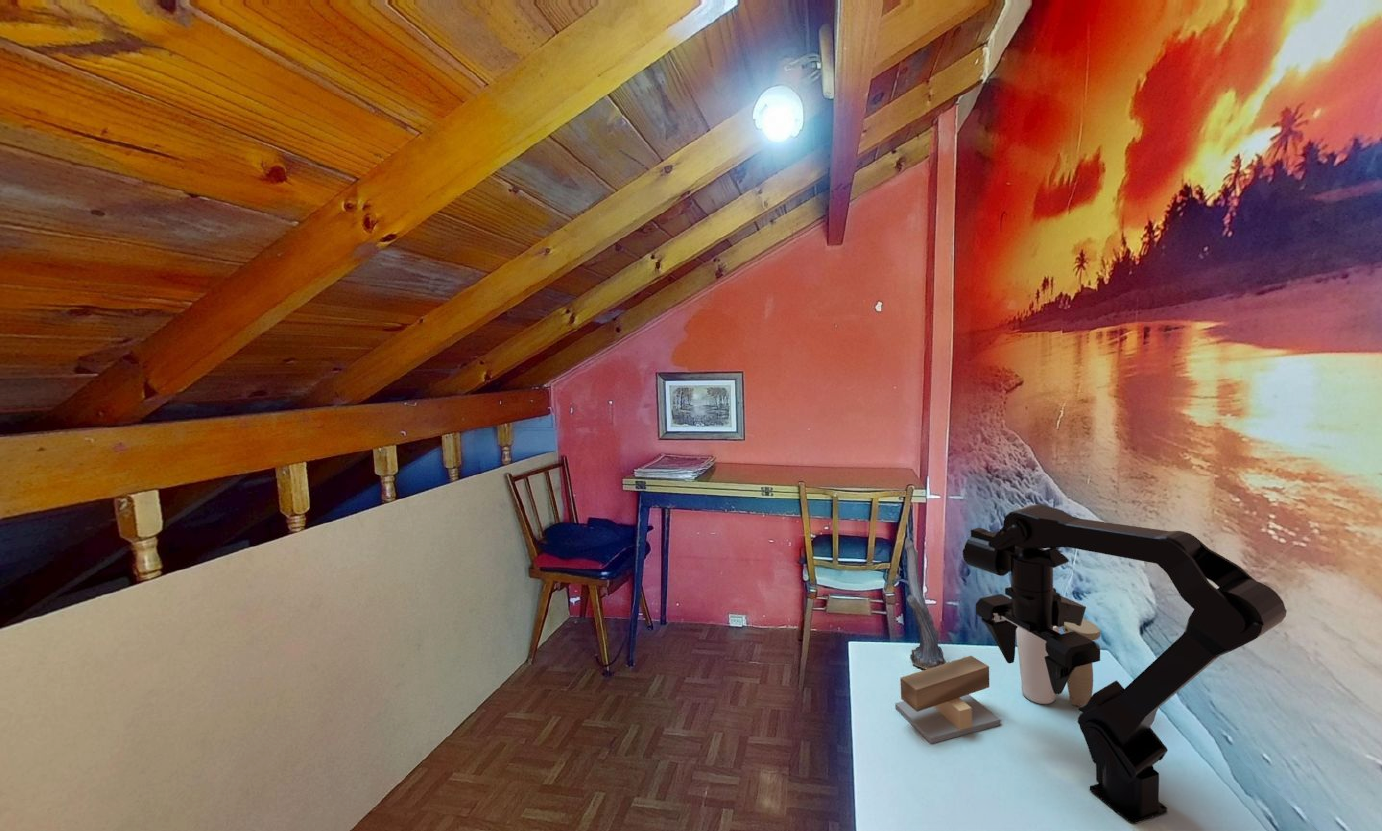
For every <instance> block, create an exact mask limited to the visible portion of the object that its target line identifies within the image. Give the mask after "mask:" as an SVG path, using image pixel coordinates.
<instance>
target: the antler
mask: <svg viewBox="0 0 1382 831" xmlns="http://www.w3.org/2000/svg"><path fill="white" fill-rule="evenodd" d="M904 541H905V543H904V548H905V551H906V559H907V561H906V562H907V567H906V569H907V584H908V590H909V594H908V595H907V597H906V602H907V603H908V605H909V607H910V608H911V609H912V610H913V613H914V615H915V618H916V621H917V624H918V629H919V636H920V639H919V645H918V646H916V647H915V649H911V654H910V655H909V656H910V661H911V663H912V665H914V666H916V667H919V668H921V669H924V670H927V669H930V668H933V667H936V666H939V665H943V664H946V663H947V662H946V659H945V658H944V652H943V648H942V647H941V646H939V637H938V632H937V630H936V628H935V624H934V620H933V617H932V614H930V611H929V610H930V609H929V608H928V606H927V603H926V599H925V596H924V595H923V591H922V587H921V581H920V576H919V566H918V564H919V562H918V557H919V556H918V555H919V551H918V549H915V547H914V543H913V541H912V539H911V538H910V536H907V537H906V538H905V540H904Z"/></svg>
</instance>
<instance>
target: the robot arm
mask: <svg viewBox="0 0 1382 831" xmlns="http://www.w3.org/2000/svg"><path fill="white" fill-rule="evenodd" d="M1002 524H1003V526H1002V527H1001V529H1000V530H998V531H997V532H992V531H989V530H987V529H985V528H981V527H977V528H976V527H975V528H972V529H971V530H970V536H969V537H968V539H966V542H965V544H964V547H963V550H962V558H963V560H964V563H965V564H966V565H967V566H970V567H973V568H975V569H976V568H977V569H979V570H982V571H985V572H988V573H991V574H994V575H997V576H1001V577H1002V576H1005V575H1007V574H1008V573H1009V572H1010V584H1011V585H1010V587H1005V588H1004V594H1005V595H1004V594H1003V593H999V594H994V595H989V596H985V597H980V598H979V599H978V600H977V602H976V603H975V614H976V615H977V616H978V617H980V618H981V623H983V624H984V625H985V626H986V628H987V630H988V631H989V633H990V635H991V636H992V638H993V639H994V641H995V643H996V645H997V647H998V649H999V650H1000V652H1001V655H1002V656H1003V657H1004V660H1005V661H1006V663H1008V664H1009V665H1011V664H1013V663H1014V662H1015V656H1016V639H1017V636H1016V629H1017V627H1020V628H1021V629H1023V630H1025V631H1027V632H1031V633H1033V634H1034V635H1036V636H1038V637H1040V638H1041V639H1043V640H1045V641H1047V642H1046V644H1045V648H1046V652H1047V654H1048V655H1049V656H1045V662H1046V666H1047V670H1048V674H1049V678H1050V682H1051V686H1052V689H1053V692H1054V693H1055V694H1056V696H1057V695H1060V694H1062V693H1063V691H1064V689H1065V687H1066V685H1067V681H1068V679H1069V677H1070V675H1071V674H1072V672H1073V670H1074V669H1075V668H1076V667H1078V666H1082V665H1086V664H1090V663H1092V664H1094V663H1098V662H1100V661H1101V648H1100V645H1099V644H1098V643H1096V641H1095V640H1090V639H1088V638H1086V637H1084V636H1082V635H1080V634H1079V633H1077V632H1075V631H1073V632H1068V633H1065V632H1064V633H1058V632H1056V631H1054V630H1052V629H1053V626H1057V627H1059V628H1062V626H1064V622H1069V623H1074V624H1076V625H1077V626H1081V623H1082V620H1083V619H1084V616H1085V612H1086V609H1087V607H1086V606H1085V605H1083V604H1080V603H1079V602H1076V601H1075V600H1073V599H1070V598H1068V597H1065V596H1062V595H1060V593H1059V592H1057V589H1056V587H1054V568H1057V567H1060V566H1062V565H1064V564H1065V565H1066V564H1068V563H1069V558H1068V557H1066V556H1065V554H1064V553H1061V552H1060V551H1059V549H1058V548H1069V549H1077V550H1082V551H1086V552H1093V553H1097V554H1103V555H1109V556H1112V557H1113V556H1114V557H1119V558H1124V559H1128V560H1130V559H1131V560H1135V561H1140V562H1144V563H1145V562H1146V563H1151V564H1155V565H1157V566H1158V567H1160V568H1161V569H1162V570H1163V571H1164V572H1165V573H1166V574H1167V575H1168V578H1169V579H1170V580H1171V582H1172V584H1173V586H1174V587H1175V589H1176V590H1177V592H1178V594H1179V596H1180V597H1181V598H1182V599H1183V600H1184V601H1185V602H1186V603H1187V604H1188V605H1189V606H1190V607H1191V608H1192V609H1193V610H1192V612H1191V614H1190V615H1189V617H1188V619H1187V623H1186V625H1185V629H1184V632H1183V633H1182V635H1180V636H1179V637H1178V638H1177V639H1176V640H1175V641H1174V642H1173V643H1172V644H1171V645H1170V646H1169V647H1168V648H1167V649H1165V651H1164V652H1162V653H1161V654H1160V655H1159V656H1158V657H1157V658H1155V660H1154V661H1152V663H1151V664H1149V666H1147V667H1146V668H1145V669H1144V670H1143V671H1142V672H1141V673H1140V674H1139V675H1138V676H1136V677H1135V678H1134V679H1133V680H1132V681H1131V682H1130V683H1128V685H1127V686H1126V687H1123V685H1121V683H1120V682H1119V681H1118V680H1114V681H1113V682H1111V683H1109V684H1108V685H1106V686H1104V687H1103V688H1101V689H1099V690H1097V691H1095V693H1092V696H1091V698H1090V700H1089V702H1087V703H1086V704H1084V705H1082V706H1081V707H1079V706H1078V707H1077V710H1078V711H1079V712H1081V713H1080V714H1079V716H1077V724H1078V725H1079V728H1080V732H1081V733H1082V735H1083V737H1084V740H1085V742H1086V746H1087V748H1088V751H1089V755H1090V757H1091V760H1092V763H1093V764H1095V780H1096V782H1097V783H1095V784H1091V785H1090V786H1089V792H1091V793H1092V794H1093V795H1094V796H1096V797H1097V798H1099V800H1101V801H1102V802H1103V803H1104V804H1106V805H1107V806H1109V807H1110V809H1112V810H1113V811H1114V812H1116V813H1117V814H1118V815H1120V816H1121V817H1122V818H1123V819H1125V820H1126V821H1127V822H1128V823H1130V824H1138V823H1141V822H1145V821H1147V820H1150V819H1152V818H1155V817H1158V816H1161V815H1164V814H1166V813H1168V807H1167V806H1166V805H1165V804H1163V803H1161V802H1160V801H1159V798H1160V796H1159V795H1160V772H1158V771H1157V770H1155V768H1154V765H1155V764H1156V763H1157V762H1159V761H1162V760H1163V759H1164V757H1165V756H1166V754H1167V752H1168V748H1167V746H1166V745H1165V744H1164V742H1163V741H1162V740H1161V739H1160V737H1159V736H1158V735H1157V734H1156V732H1155V731H1154V730H1153V729H1152V728H1151V726H1152V725H1153V722H1154V721H1155V717H1156V715H1157V711H1158V710H1159V708H1160V707H1162V706H1163V705H1164V704H1166V702H1168V701H1169V700H1170V699H1171V698H1173V697H1174V696H1175V695H1176V694H1177V693H1178V692H1179V691H1180V690H1182V689H1183V688H1184V687H1185V686H1187V684H1189V683H1191V681H1192V680H1193V679H1194V678H1196V677H1197V676H1198V675H1200V674H1201V672H1203V671H1204V670H1205V669H1206V668H1207V667H1209V666H1210V665H1211V664H1212V663H1213V662H1214V661H1216V660H1217V659H1218V658H1220V657H1221V656H1223V655H1226V654H1228V653H1230V652H1233V651H1234V650H1236V649H1239V648H1240V647H1243V646H1245V645H1247V644H1249V643H1251V642H1253V641H1255V640H1257V638H1259V637H1261V636H1262V635H1263V634H1265V633H1267V632H1268V631H1269V630H1270V631H1271V629H1273V628H1274V627H1276V626H1277V625H1278V624H1280V623H1281V622H1283V621H1284V619H1285V618H1286V615H1287V612H1288V610H1287V609H1286V606H1285V603H1284V601H1283V599H1282V598H1281V596H1280V595H1279V594H1278V593H1277V591H1275V590H1274V589H1272V587H1270V586H1268V585H1266V584H1264V583H1263V582H1260V581H1257V579H1255V578H1253V577H1252V576H1251V575H1250V574H1249V573H1248V572H1247V571H1245V569H1244V568H1242V567H1241V566H1240V565H1238V564H1236V563H1235V562H1233V561H1232V560H1230V559H1228V558H1226V557H1224V556H1222V555H1221V554H1220V553H1217V552H1216V551H1214V550H1212V549H1210V548H1209V547H1208V546H1207V545H1205V544H1204V543H1203V541H1201V540H1199V539H1198V538H1197V537H1196V536H1195V535H1193V534H1192V533H1189V532H1187V531H1182V530H1163V529H1156V528H1149V527H1142V526H1135V525H1128V524H1120V523H1114V522H1107V521H1098V520H1091V519H1085V518H1080V517H1076V516H1072V515H1071V514H1069V513H1068V512H1066V511H1064V510H1061V509H1057V508H1055V507H1051V506H1048V505H1045V504H1032V505H1028V506H1026V507H1023V508H1019V509H1016V510H1013V511H1010V512H1008V513H1007V514H1006V515H1005V517H1004V519H1003V523H1002ZM1211 582H1213V583H1214V584H1215V585H1216V586H1217V587H1218V588H1216V587H1215V586H1214V585H1213V584H1212V583H1211Z"/></svg>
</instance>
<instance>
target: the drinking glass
mask: <svg viewBox="0 0 1382 831" xmlns="http://www.w3.org/2000/svg"><path fill="white" fill-rule="evenodd" d="M1052 630H1054V631H1056V632H1058V633H1060V627H1057V626H1053V629H1052ZM1060 634H1061V633H1060ZM1046 642H1047V641H1045V640H1043V639H1041V638H1040V637H1038V636H1036V635H1034V634H1033V633H1031V632H1027V631H1025V630H1023V629H1021V628H1020V627H1017V629H1016V644H1017V655H1018V662H1019V670H1020V680H1021V681H1020V682H1021V693H1022V695H1023V696H1024V697H1025V698H1027V700H1029V701H1030V702H1033V703H1036V704H1042V705H1047V704H1052V703H1053V702H1054V701H1055V700H1056V698H1057V697H1056V696H1057V695H1056V694H1055V693H1054V692H1053V689H1052V686H1051V682H1050V678H1049V674H1048V670H1047V666H1046V662H1045V656H1049V655H1048V654H1047V652H1046V648H1045V644H1046Z"/></svg>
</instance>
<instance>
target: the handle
mask: <svg viewBox="0 0 1382 831" xmlns="http://www.w3.org/2000/svg"><path fill="white" fill-rule="evenodd" d="M1061 629H1062V630H1063V632H1064V633H1068V632H1073V631H1075V632H1077V633H1079V634H1080V635H1082V636H1084V637H1086V638H1088V639H1090V640H1092V641H1096V640H1098V639H1100V637H1101V630H1100V628H1099V627H1098V626H1097V625H1096V624H1095V623H1093V622H1092V621H1090V620H1087V619H1085V618H1083V620H1082V623H1081V626H1077V625H1076V624H1074V623H1069V622H1064V626H1062V627H1061ZM1093 667H1094V666H1093V663H1090V664H1086V665H1082V666H1078V667H1076V668H1075V669H1074V670H1073V672H1072V674H1071V675H1070V677H1069V679H1068V681H1067V683H1066V685H1067V690H1068V694H1069V703H1071V705H1073V706H1077V707H1078V708H1079V707H1081V706H1082V705H1084V704H1086V703H1087V702H1089V700H1090V698H1091V697H1092V695H1093V690H1094V689H1093V687H1094V668H1093Z"/></svg>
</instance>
